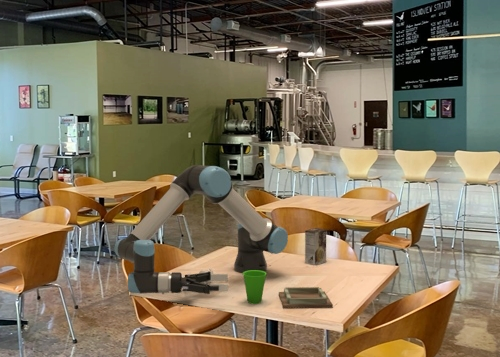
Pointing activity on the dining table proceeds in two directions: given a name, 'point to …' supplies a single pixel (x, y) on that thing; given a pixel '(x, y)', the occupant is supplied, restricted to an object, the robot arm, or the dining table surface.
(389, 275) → the dining table surface
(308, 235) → the coffee box
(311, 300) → the jig cradle
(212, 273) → the elephant figurine
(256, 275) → the cup
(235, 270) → the robot arm
